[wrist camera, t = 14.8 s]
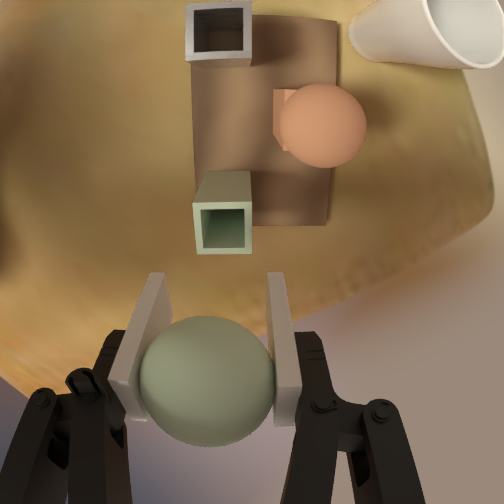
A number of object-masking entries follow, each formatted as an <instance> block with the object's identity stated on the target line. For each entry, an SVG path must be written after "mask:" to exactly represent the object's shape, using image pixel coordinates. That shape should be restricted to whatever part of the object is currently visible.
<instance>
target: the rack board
mask: <svg viewBox="0 0 504 504" xmlns="http://www.w3.org/2000/svg"><path fill="white" fill-rule="evenodd" d="M214 51H243V30H229V31H208V52H214ZM336 58H337V21H331V20H323V19H315V18H304V17H292V16H273V15H252V59H251V64H250V67H228V68H206V69H202V68H200V67H198V66H196V65H193V64H191V90H192V120H193V143H194V162H195V178H196V193H197V191H198V189H199V186H200V184H201V182H202V179H203V177H204V175H205V173H206V172H213V171H250V178H251V195H252V226H281V225H315V226H326V219H327V209H328V199H329V189H330V177H331V168H318V167H314V166H310V165H307V164H305V163H303V162H301V161H300V160H299V159H297V158H296V157H295V156H294V155H293V154H291V152H290V151H283V149H282V147H281V146H280V144H279V142H278V141H277V139H276V138H275V136H274V134H273V89H290V90H298V89H300V88H302V87H305V86H307V85H310V84H316V83H326V84H332V85H335V86H336Z"/></svg>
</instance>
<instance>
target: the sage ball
mask: <svg viewBox="0 0 504 504" xmlns="http://www.w3.org/2000/svg"><path fill="white" fill-rule="evenodd" d="M139 383H140V390H141V396H142V399H143V402H144V404H145V407H146V409H147V411H148V412H149V414H150V415H151V417H152V418H153V420H154V421H155V422H156V423H157V425H158V426H160V427H161V428H162V429H163V430H164V431H165V432H166V433H168V434H169V435H171V436H172V437H174V438H176V439H177V440H179V441H182V442H184V443H187V444H191V445H194V446H199V447H219V446H225V445H229V444H232V443H234V442H237V441H240V440H242V439H243V438H245V437H247V436H248V435H250V434H251V433H252V432H253V431H254V430H256V429H257V428H258V427H259V426H260V425H261V423H262V422H263V421H264V419H265V418H266V416H267V415H268V413H269V411H270V409H271V407H272V404H273V401H274V397H275V371H274V366H273V363H272V360H271V357H270V355H269V353H268V352H267V350H266V348H265V347H264V345H263V344H262V342H261V341H260V340H259V339H258V338H257V337H256V336H255V335H254V334H253V333H252V332H250V331H249V330H248V329H246V328H245V327H243V326H242V325H240V324H238V323H236V322H234V321H231V320H228V319H225V318H221V317H215V316H196V317H190V318H186V319H183V320H181V321H178V322H176V323H174V324H172V325H170V326H169V327H167V328H166V329H165V330H163V331H162V332H161V333H160V334H159V335H158V336H157V337H156V338H155V339H154V340H153V341H152V343H151V344H150V346H149V347H148V349H147V351H146V353H145V355H144V358H143V360H142V363H141V368H140V380H139Z"/></svg>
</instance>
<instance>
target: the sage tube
mask: <svg viewBox="0 0 504 504" xmlns="http://www.w3.org/2000/svg"><path fill="white" fill-rule="evenodd" d="M192 205H193V217H194V228H195V239H196V250H197V254H252V195H251V178H250V171H213V172H206V173H205V175H204V177H203V179H202V182H201V184H200V186H199V189H198V191H197V193H196V195H195V198H194V200H193V202H192Z"/></svg>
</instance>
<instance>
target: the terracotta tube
mask: <svg viewBox="0 0 504 504" xmlns="http://www.w3.org/2000/svg"><path fill="white" fill-rule="evenodd" d="M296 91H297V90H290V89H273V134H274V136H275V138H276V139H277V141H278V142H279V144H280V146H281V147H282V149H283V151H289V150H288V149H287V147H286V146H285V144H284V142H283V139H282V136H281V133H280V126H279V121H280V114H281V111H282V108H283V106H284V104H285V102H286V101H287V99H288V98H289V97H290V96H291V95H292V94H293V93H294V92H296Z"/></svg>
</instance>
